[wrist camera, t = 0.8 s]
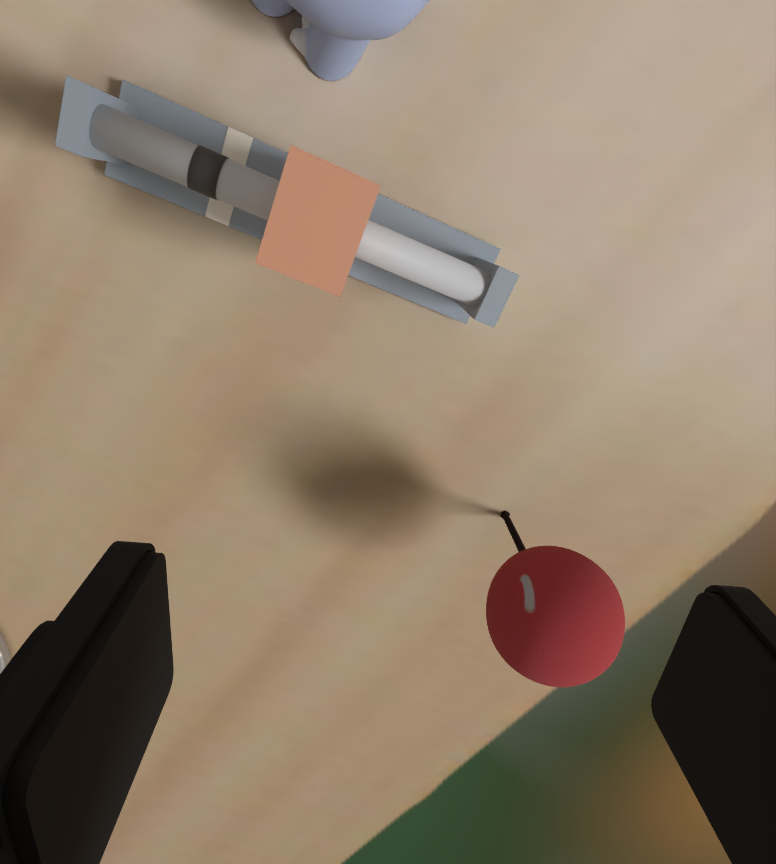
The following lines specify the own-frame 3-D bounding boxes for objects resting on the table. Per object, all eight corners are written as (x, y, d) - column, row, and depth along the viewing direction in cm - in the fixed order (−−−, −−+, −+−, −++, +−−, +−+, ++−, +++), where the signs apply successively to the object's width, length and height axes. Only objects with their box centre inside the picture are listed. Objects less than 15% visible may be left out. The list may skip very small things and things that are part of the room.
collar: (343, 277, 31) (340, 296, 24) (277, 250, 30) (254, 262, 24) (374, 190, 30) (380, 185, 23) (305, 159, 29) (290, 144, 22)
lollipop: (566, 480, 41) (674, 619, 27) (532, 561, 44) (615, 724, 30) (472, 461, 40) (534, 596, 26) (443, 545, 43) (486, 707, 29)
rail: (463, 320, 36) (486, 344, 29) (111, 175, 31) (51, 167, 25) (496, 247, 34) (528, 256, 28) (129, 83, 29) (70, 50, 23)
